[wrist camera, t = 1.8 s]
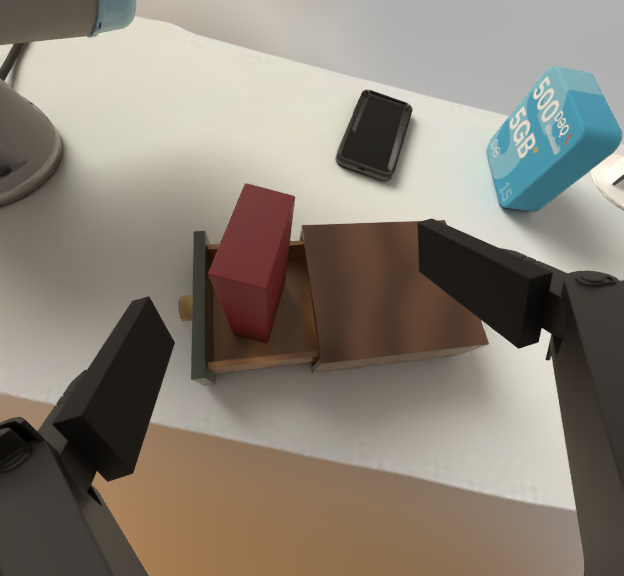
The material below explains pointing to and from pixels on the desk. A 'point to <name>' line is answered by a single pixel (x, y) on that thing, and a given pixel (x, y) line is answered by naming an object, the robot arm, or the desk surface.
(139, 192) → the desk surface
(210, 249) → the drawer
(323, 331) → the box
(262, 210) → the card box
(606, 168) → the panda figurine
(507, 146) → the data package
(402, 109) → the phone
